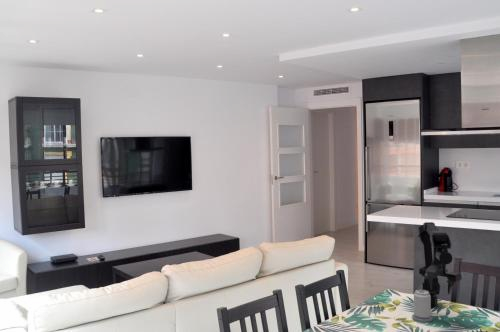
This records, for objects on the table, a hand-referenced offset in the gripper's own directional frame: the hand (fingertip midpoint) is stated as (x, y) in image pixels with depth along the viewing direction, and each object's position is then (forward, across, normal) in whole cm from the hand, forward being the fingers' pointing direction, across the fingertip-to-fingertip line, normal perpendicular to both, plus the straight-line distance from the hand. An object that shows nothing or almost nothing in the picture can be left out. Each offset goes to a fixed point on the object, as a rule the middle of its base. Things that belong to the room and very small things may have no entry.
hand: (439, 291), depth 227 cm
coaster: (+13, -5, -6) cm, 15 cm away
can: (+12, -5, -6) cm, 14 cm away
